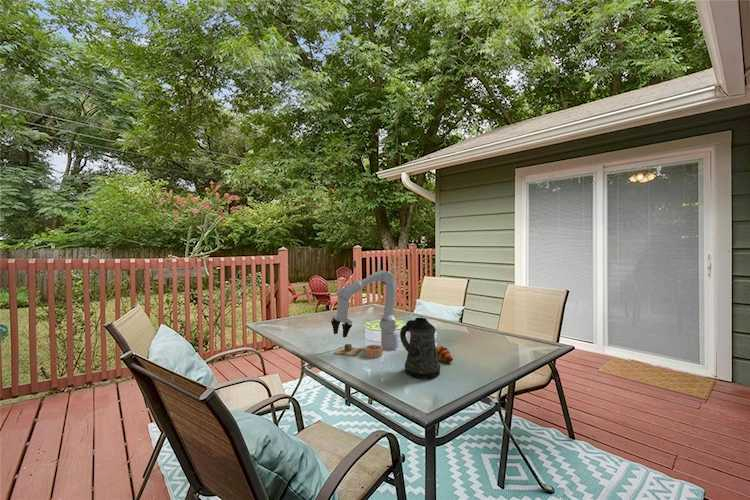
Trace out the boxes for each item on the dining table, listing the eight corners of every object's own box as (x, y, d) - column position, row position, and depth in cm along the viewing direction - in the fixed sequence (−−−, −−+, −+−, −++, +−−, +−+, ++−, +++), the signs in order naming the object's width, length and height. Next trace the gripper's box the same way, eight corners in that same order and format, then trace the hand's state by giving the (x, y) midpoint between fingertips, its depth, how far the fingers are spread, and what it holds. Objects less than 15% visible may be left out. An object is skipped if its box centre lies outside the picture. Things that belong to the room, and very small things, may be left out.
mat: (362, 349, 191) (362, 348, 191) (355, 357, 178) (355, 356, 178) (340, 347, 194) (340, 346, 194) (332, 355, 182) (332, 354, 182)
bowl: (383, 354, 184) (383, 345, 184) (379, 359, 175) (380, 350, 175) (367, 352, 186) (367, 344, 186) (363, 357, 177) (363, 349, 177)
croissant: (423, 358, 187) (417, 346, 186) (436, 348, 191) (431, 336, 189) (447, 371, 168) (441, 358, 167) (462, 359, 172) (456, 346, 170)
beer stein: (440, 381, 149) (440, 324, 148) (395, 377, 153) (396, 321, 152) (440, 367, 165) (441, 316, 164) (400, 364, 169) (401, 314, 168)
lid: (360, 349, 190) (360, 342, 190) (354, 355, 180) (354, 348, 180) (341, 347, 193) (341, 341, 193) (334, 353, 182) (334, 347, 182)
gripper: (328, 308, 186) (325, 333, 185) (345, 313, 175) (343, 339, 175) (338, 307, 191) (335, 331, 190) (355, 312, 181) (353, 338, 180)
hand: (340, 335), depth 183 cm, fingers open, 7 cm apart
